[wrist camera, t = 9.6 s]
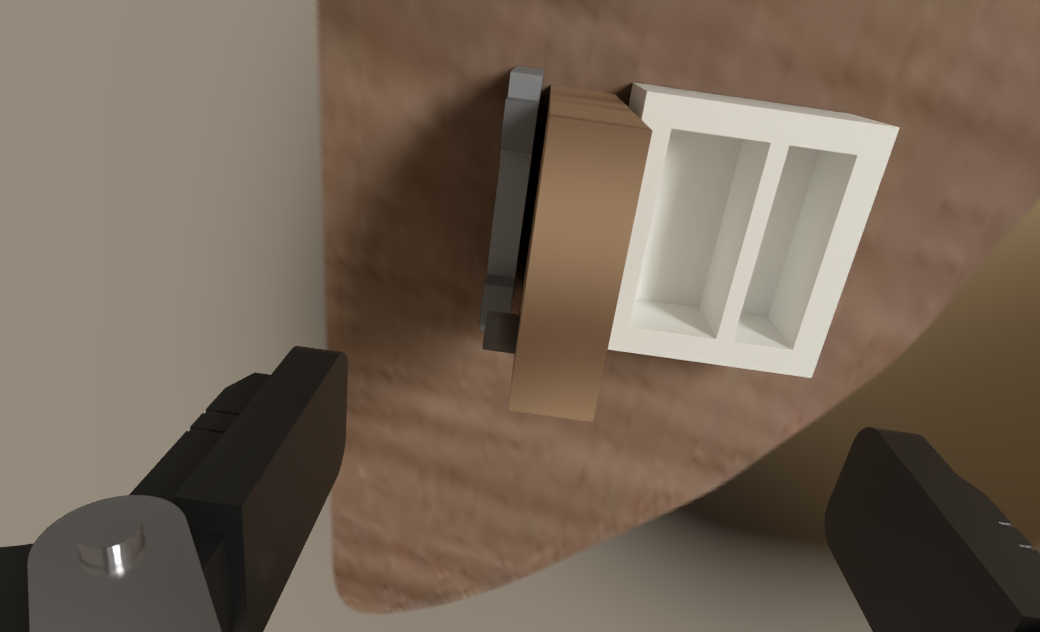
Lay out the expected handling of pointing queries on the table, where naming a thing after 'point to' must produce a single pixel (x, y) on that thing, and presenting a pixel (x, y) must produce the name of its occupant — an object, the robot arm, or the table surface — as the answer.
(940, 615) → the robot arm
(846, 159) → the cabinet
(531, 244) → the door
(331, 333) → the table surface
